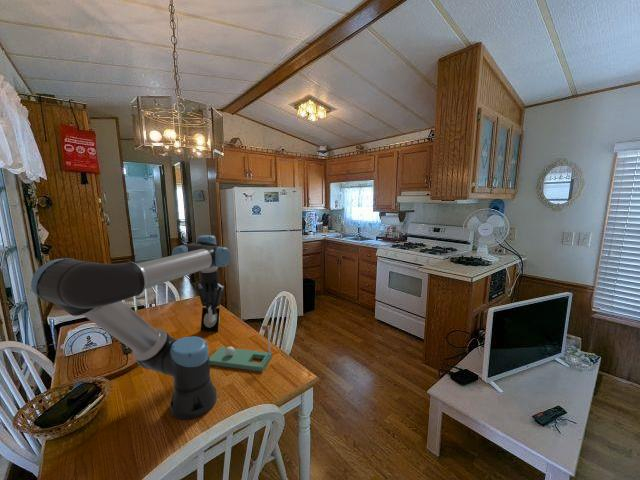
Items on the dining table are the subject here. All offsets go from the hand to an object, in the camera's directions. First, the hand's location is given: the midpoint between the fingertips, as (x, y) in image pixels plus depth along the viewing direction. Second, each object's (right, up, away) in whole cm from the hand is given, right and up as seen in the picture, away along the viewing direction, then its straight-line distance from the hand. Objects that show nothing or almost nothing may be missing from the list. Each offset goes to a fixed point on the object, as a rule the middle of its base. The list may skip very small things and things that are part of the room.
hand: (212, 320), depth 123 cm
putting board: (+13, -18, 0) cm, 22 cm away
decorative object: (-12, -13, +30) cm, 35 cm away
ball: (+8, -14, +1) cm, 16 cm away
